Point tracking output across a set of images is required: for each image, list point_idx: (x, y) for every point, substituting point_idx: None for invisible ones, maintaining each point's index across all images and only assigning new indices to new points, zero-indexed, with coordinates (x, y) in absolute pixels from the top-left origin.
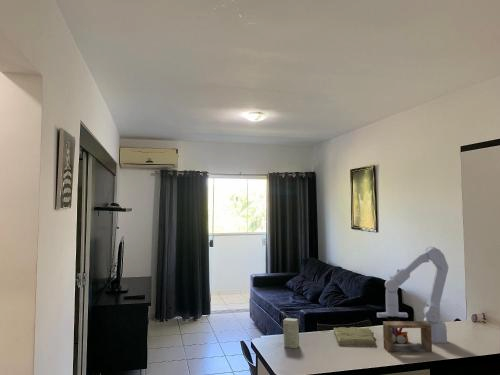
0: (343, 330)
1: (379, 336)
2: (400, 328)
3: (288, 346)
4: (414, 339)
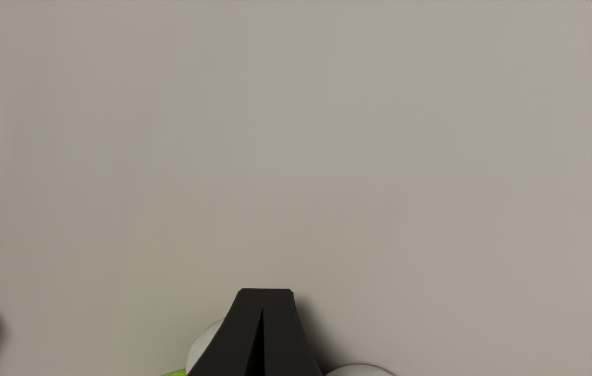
0: None
1: (64, 221)
2: None
3: None
4: (535, 344)
